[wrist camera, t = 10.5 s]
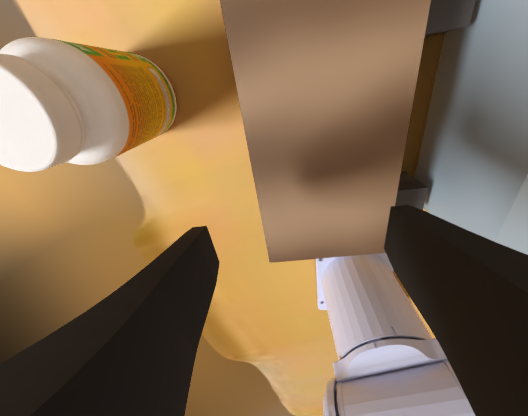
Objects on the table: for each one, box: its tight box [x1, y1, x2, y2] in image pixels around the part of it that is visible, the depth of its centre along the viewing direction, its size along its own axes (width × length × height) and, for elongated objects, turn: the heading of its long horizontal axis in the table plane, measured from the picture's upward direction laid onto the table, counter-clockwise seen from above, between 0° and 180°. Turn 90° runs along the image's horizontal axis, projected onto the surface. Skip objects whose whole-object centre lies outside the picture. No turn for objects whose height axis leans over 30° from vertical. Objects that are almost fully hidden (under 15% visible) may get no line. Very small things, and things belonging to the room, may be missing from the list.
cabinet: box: [220, 0, 476, 262], centre depth 13 cm, size 15×17×6 cm
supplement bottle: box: [0, 37, 177, 172], centre depth 12 cm, size 5×5×10 cm
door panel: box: [414, 0, 528, 255], centre depth 12 cm, size 14×4×8 cm, turn 9°
